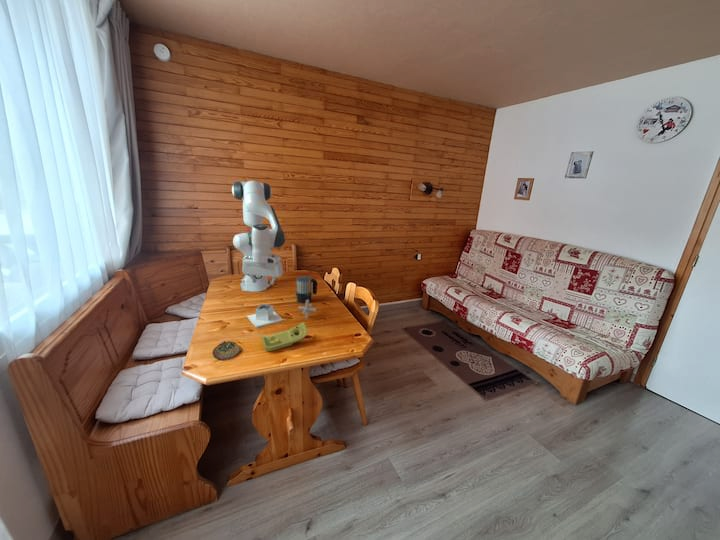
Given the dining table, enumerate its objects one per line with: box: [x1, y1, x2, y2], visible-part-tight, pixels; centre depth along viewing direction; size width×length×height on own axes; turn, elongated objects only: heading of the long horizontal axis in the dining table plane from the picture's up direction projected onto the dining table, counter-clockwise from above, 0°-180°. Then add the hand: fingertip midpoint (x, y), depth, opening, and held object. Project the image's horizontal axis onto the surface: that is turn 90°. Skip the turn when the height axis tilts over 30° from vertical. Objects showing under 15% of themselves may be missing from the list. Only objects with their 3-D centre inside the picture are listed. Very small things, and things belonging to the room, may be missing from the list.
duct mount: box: [247, 308, 284, 329], centre depth 147 cm, size 14×14×6 cm
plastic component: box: [260, 322, 308, 352], centre depth 127 cm, size 20×7×10 cm
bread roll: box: [212, 340, 242, 361], centre depth 117 cm, size 11×11×5 cm
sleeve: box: [255, 303, 274, 321], centre depth 147 cm, size 7×7×6 cm
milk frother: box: [295, 275, 318, 304], centre depth 176 cm, size 14×16×15 cm
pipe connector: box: [297, 300, 317, 319], centre depth 151 cm, size 10×10×10 cm
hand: (263, 283), depth 142 cm, fingers open, 8 cm apart
